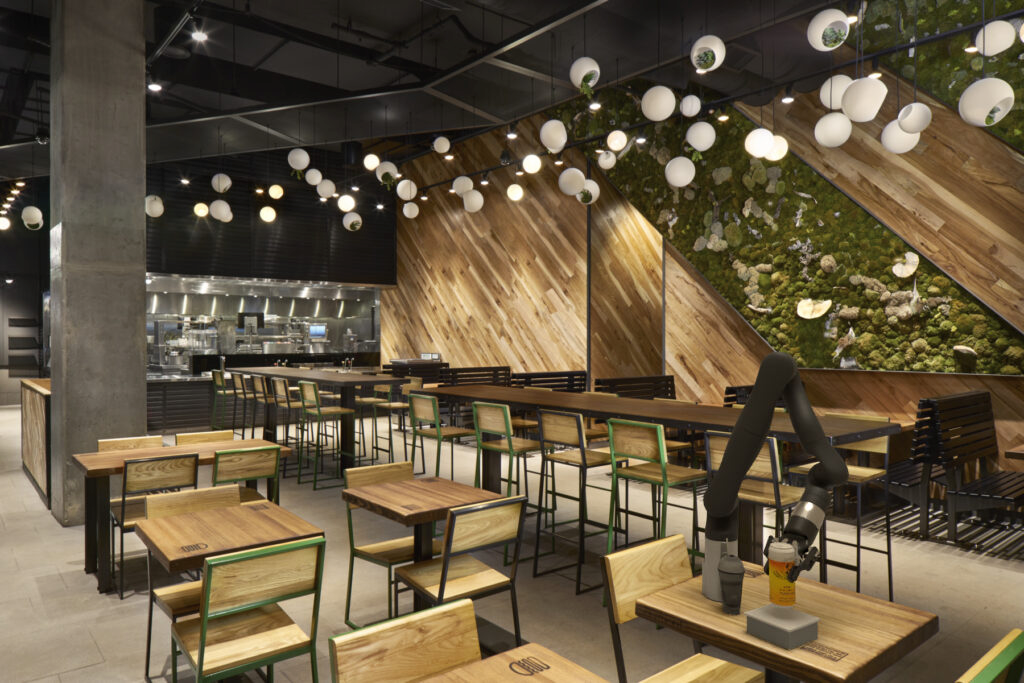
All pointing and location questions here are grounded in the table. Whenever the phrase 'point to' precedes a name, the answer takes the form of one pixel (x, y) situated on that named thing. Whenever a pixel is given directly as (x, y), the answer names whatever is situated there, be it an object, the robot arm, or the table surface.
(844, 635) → the table surface
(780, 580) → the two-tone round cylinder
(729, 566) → the beverage cup
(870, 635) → the table surface
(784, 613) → the grey square box
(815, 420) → the robot arm
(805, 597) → the table surface
